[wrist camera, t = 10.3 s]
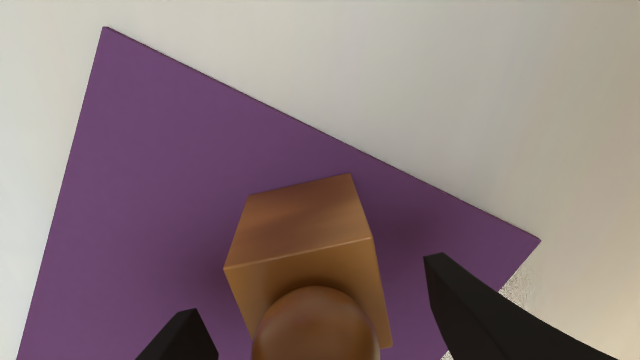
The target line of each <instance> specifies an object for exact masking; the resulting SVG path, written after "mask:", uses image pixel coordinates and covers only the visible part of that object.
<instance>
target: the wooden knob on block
mask: <svg viewBox="0 0 640 360" xmlns="http://www.w3.org/2000/svg"><path fill="white" fill-rule="evenodd" d="M223 270H224V273H225V275H226V277H227V280H228V282H229V285H230V287H231V290H232V292H233V295H234V297H235V300H236V302H237V305H238V307H239V309H240V312H241V314H242V317H243V319H244V322H245V324H246V327H247V329H248V332H249V334H250V336H251V339H252V341H253V343H252V348H251V360H380V349H384V348H389V347H392V346H393V340H392V335H391V330H390V325H389V319H388V314H387V309H386V304H385V298H384V293H383V288H382V282H381V277H380V272H379V267H378V261H377V256H376V251H375V246H374V240H373V236H372V233H371V230H370V227H369V225H368V222H367V219H366V216H365V213H364V210H363V208H362V205H361V202H360V199H359V196H358V193H357V191H356V188H355V185H354V182H353V179H352V176H351V174H350V173H346V174H342V175H337V176H333V177H328V178H324V179H319V180H315V181H310V182H306V183H301V184H297V185H293V186H288V187H284V188H279V189H275V190H270V191H266V192H261V193H257V194H252V195H249V196H248V197H247V200H246V203H245V206H244V209H243V212H242V215H241V218H240V221H239V223H238V226H237V229H236V232H235V235H234V238H233V241H232V244H231V247H230V250H229V253H228V255H227V258H226V261H225V264H224V267H223Z"/></svg>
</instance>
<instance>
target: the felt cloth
mask: <svg viewBox="0 0 640 360" xmlns="http://www.w3.org/2000/svg"><path fill="white" fill-rule="evenodd" d="M346 173H350V174H351V176H352V179H353V182H354V185H355V188H356V191H357V193H358V196H359V199H360V202H361V205H362V208H363V210H364V213H365V216H366V219H367V222H368V225H369V227H370V230H371V233H372V236H373V240H374V246H375V251H376V256H377V261H378V267H379V272H380V277H381V282H382V288H383V293H384V298H385V304H386V309H387V314H388V319H389V325H390V330H391V335H392V340H393V346H392V347H389V348H384V349H380V360H440V359H441V358H442V357H443V356H444V354H445V353H446V352H447V351H448V348H447V346H446V344H445V342H444V340H443V338H442V335H441V333H440V330H439V328H438V326H437V323H436V321H435V318H434V315H433V313H432V310H431V308H430V302H429V295H428V288H427V281H426V274H425V268H424V261H423V256H427V255H432V254H436V253H441V252H444V253H445V254H447V255H448V256H449V257H451V258H452V259H453V260H454V261H456V262H457V263H458V264H459V265H461V266H462V267H463V268H465V269H466V270H467V271H469V272H470V273H471V274H473V275H474V276H475V277H477V278H478V279H479V280H481V281H482V282H483V283H485V284H486V285H488V286H489V287H491V288H492V289H493V290H495V291H496V292H498V291H499V290H500V289H501V288H502V287H503V285H504V284H505V283H506V282H507V281H508V280H509V278H510V277H511V276H512V275H513V274H514V273H515V271H516V270H517V269H518V268H519V267H520V266H521V264H522V263H523V262H524V261H525V260H526V259H527V257H528V256H529V255H530V254H531V253H532V252H533V250H534V249H535V248H536V247H537V246H538V245H539V243H540V242H541V240H540V239H539V238H538V237H536V236H534V235H532V234H530V233H527V232H525V231H523V230H521V229H519V228H517V227H515V226H513V225H511V224H509V223H507V222H505V221H503V220H501V219H499V218H497V217H495V216H493V215H491V214H489V213H487V212H485V211H483V210H481V209H478V208H476V207H474V206H472V205H470V204H468V203H466V202H464V201H462V200H460V199H458V198H456V197H454V196H452V195H450V194H448V193H446V192H444V191H442V190H440V189H438V188H436V187H434V186H431V185H429V184H427V183H425V182H423V181H421V180H419V179H417V178H415V177H413V176H411V175H409V174H407V173H405V172H403V171H401V170H399V169H397V168H395V167H393V166H391V165H389V164H387V163H385V162H382V161H380V160H378V159H376V158H374V157H372V156H370V155H368V154H366V153H364V152H362V151H360V150H358V149H356V148H354V147H352V146H350V145H348V144H346V143H344V142H342V141H340V140H338V139H336V138H333V137H331V136H329V135H327V134H325V133H323V132H321V131H319V130H317V129H315V128H313V127H311V126H309V125H307V124H305V123H303V122H301V121H299V120H297V119H295V118H293V117H291V116H289V115H286V114H284V113H282V112H280V111H278V110H276V109H274V108H272V107H270V106H268V105H266V104H264V103H262V102H260V101H258V100H256V99H254V98H252V97H250V96H248V95H246V94H244V93H242V92H240V91H237V90H235V89H233V88H231V87H229V86H227V85H225V84H223V83H221V82H219V81H217V80H215V79H213V78H211V77H209V76H207V75H205V74H203V73H201V72H199V71H197V70H195V69H193V68H191V67H188V66H186V65H184V64H182V63H180V62H178V61H176V60H174V59H172V58H170V57H168V56H166V55H164V54H162V53H160V52H158V51H156V50H154V49H152V48H150V47H148V46H146V45H144V44H142V43H139V42H137V41H135V40H133V39H131V38H129V37H127V36H125V35H123V34H121V33H119V32H117V31H115V30H113V29H111V28H109V27H103V28H102V31H101V35H100V39H99V43H98V47H97V51H96V55H95V58H94V62H93V66H92V70H91V74H90V78H89V82H88V85H87V89H86V93H85V97H84V101H83V105H82V109H81V112H80V116H79V120H78V124H77V128H76V132H75V136H74V139H73V143H72V147H71V151H70V155H69V159H68V163H67V166H66V170H65V174H64V178H63V182H62V186H61V190H60V193H59V197H58V201H57V205H56V209H55V213H54V216H53V220H52V224H51V228H50V232H49V236H48V240H47V243H46V247H45V251H44V255H43V259H42V263H41V267H40V270H39V274H38V278H37V282H36V286H35V290H34V294H33V297H32V301H31V305H30V309H29V313H28V317H27V321H26V324H25V328H24V332H23V336H22V340H21V344H20V348H19V351H18V355H17V359H16V360H135V359H136V358H137V356H138V355H139V354H140V353H141V352H142V351H143V350H144V349H145V347H146V346H147V345H148V344H149V343H150V342H151V341H152V339H153V338H154V337H155V336H156V335H157V334H158V333H159V332H160V330H161V329H162V328H163V327H164V326H165V325H166V324H167V323H168V322H169V320H170V319H171V318H172V317H173V316H174V315H175V314H176V313H177V312H179V311H184V310H188V309H193V308H197V310H198V312H199V314H200V316H201V318H202V320H203V322H204V324H205V326H206V329H207V331H208V333H209V335H210V337H211V339H212V341H213V343H214V345H215V347H216V349H217V351H218V353H219V358H218V360H251V348H252V343H253V341H252V339H251V336H250V334H249V332H248V329H247V327H246V324H245V322H244V319H243V317H242V314H241V312H240V309H239V307H238V305H237V302H236V300H235V297H234V295H233V292H232V290H231V287H230V285H229V282H228V280H227V277H226V275H225V273H224V270H223V267H224V264H225V261H226V258H227V255H228V253H229V250H230V247H231V244H232V241H233V238H234V235H235V232H236V229H237V226H238V223H239V221H240V218H241V215H242V212H243V209H244V206H245V203H246V200H247V197H248V196H249V195H252V194H257V193H261V192H266V191H270V190H275V189H279V188H284V187H288V186H293V185H297V184H301V183H306V182H310V181H315V180H319V179H324V178H328V177H333V176H337V175H342V174H346Z"/></svg>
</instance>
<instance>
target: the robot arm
mask: <svg viewBox="0 0 640 360" xmlns="http://www.w3.org/2000/svg"><path fill="white" fill-rule="evenodd" d="M423 261H424V268H425V274H426V281H427V288H428V295H429V302H430V308H431V310H432V313H433V315H434V318H435V321H436V323H437V326H438V328H439V330H440V333H441V335H442V338H443V340H444V342H445V344H446V346H447V348H448V350H449V351H450V353H451V355H452V357H453V359H454V360H618V359H616V358H614V357H611V356H609V355H607V354H605V353H603V352H601V351H598V350H596V349H594V348H592V347H590V346H588V345H586V344H584V343H582V342H580V341H578V340H576V339H574V338H573V337H571V336H569V335H567V334H565V333H563V332H561V331H560V330H558V329H556V328H554V327H552V326H550V325H549V324H547V323H545V322H543V321H542V320H540V319H538V318H537V317H535V316H533V315H532V314H530V313H529V312H527V311H525V310H524V309H522V308H520V307H519V306H517V305H516V304H514V303H513V302H511V301H510V300H508V299H507V298H505V297H504V296H502V295H501V294H499V293H498V292H496V291H495V290H493V289H492V288H491V287H489V286H488V285H486V284H485V283H483V282H482V281H481V280H479V279H478V278H477V277H475V276H474V275H473V274H471V273H470V272H469V271H467V270H466V269H465V268H463V267H462V266H461V265H459V264H458V263H457V262H456V261H454V260H453V259H452V258H451V257H449V256H448V255H447V254H445V253H444V252H441V253H436V254H432V255H427V256H423ZM218 358H219V353H218V351H217V349H216V347H215V345H214V343H213V341H212V339H211V337H210V335H209V333H208V331H207V329H206V326H205V324H204V322H203V320H202V318H201V316H200V314H199V312H198V310H197V308H193V309H188V310H184V311H179V312H177V313H176V314H175V315H174V316H173V317H172V318H171V319H170V320H169V322H168V323H167V324H166V325H165V326H164V327H163V328H162V329H161V330H160V332H159V333H158V334H157V335H156V336H155V337H154V338H153V339H152V341H151V342H150V343H149V344H148V345H147V346H146V347H145V349H144V350H143V351H142V352H141V353H140V354H139V355H138V356H137V358H136V359H135V360H218Z"/></svg>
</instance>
